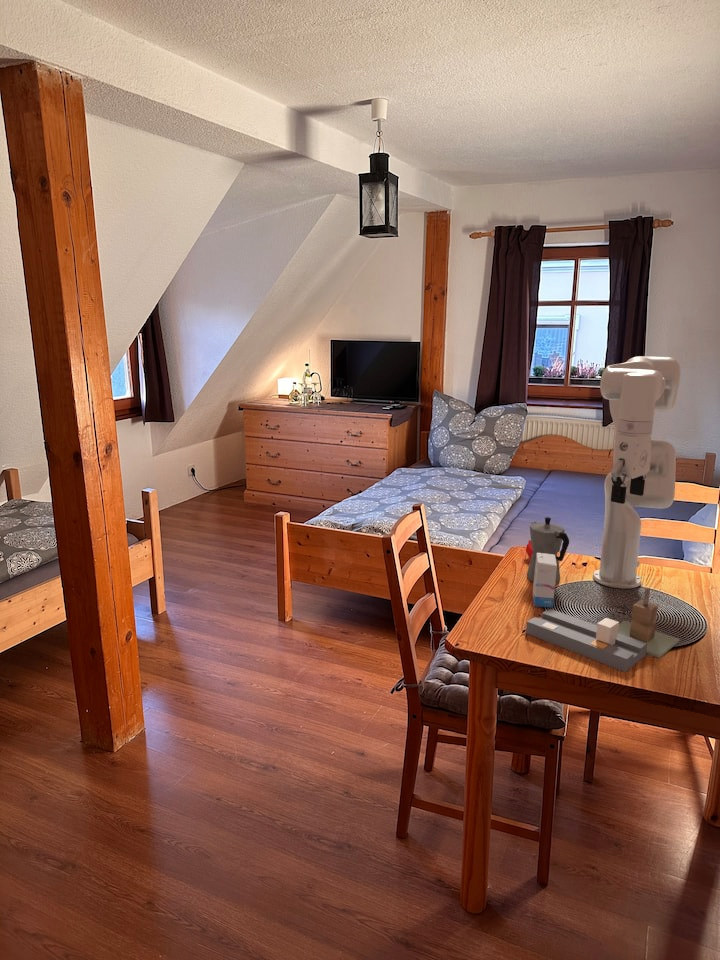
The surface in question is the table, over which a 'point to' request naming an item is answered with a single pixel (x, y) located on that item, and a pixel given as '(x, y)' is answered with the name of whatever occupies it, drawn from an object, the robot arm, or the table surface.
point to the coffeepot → (547, 544)
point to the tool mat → (652, 640)
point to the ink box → (544, 580)
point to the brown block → (643, 619)
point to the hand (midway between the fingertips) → (627, 498)
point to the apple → (529, 550)
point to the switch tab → (607, 631)
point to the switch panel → (586, 640)
